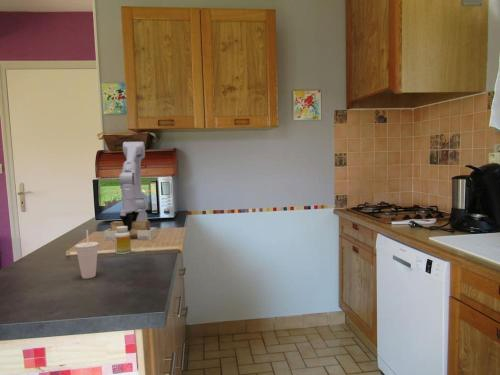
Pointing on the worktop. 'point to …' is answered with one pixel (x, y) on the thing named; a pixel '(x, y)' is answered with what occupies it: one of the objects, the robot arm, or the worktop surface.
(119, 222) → the oak rail
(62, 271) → the worktop surface
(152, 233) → the cup bracket
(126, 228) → the supplement bottle
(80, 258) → the smoothie
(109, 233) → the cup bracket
